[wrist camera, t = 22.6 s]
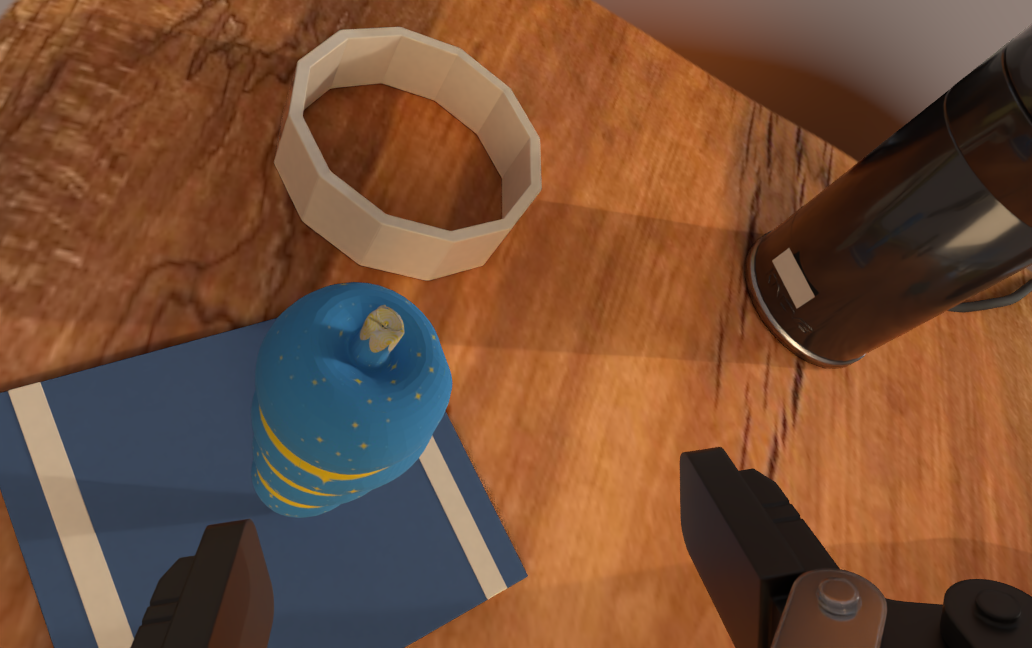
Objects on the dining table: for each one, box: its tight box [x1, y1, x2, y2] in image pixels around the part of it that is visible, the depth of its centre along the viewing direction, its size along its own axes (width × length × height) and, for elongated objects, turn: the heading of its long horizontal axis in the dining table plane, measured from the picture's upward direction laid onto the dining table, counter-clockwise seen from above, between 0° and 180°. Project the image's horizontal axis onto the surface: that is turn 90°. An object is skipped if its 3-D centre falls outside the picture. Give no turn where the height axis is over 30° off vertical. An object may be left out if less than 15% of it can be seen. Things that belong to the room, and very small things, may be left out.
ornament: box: [251, 282, 452, 518], centre depth 24 cm, size 5×5×15 cm
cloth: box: [0, 318, 528, 648], centre depth 30 cm, size 16×14×1 cm
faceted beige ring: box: [274, 27, 542, 281], centre depth 38 cm, size 12×12×4 cm
